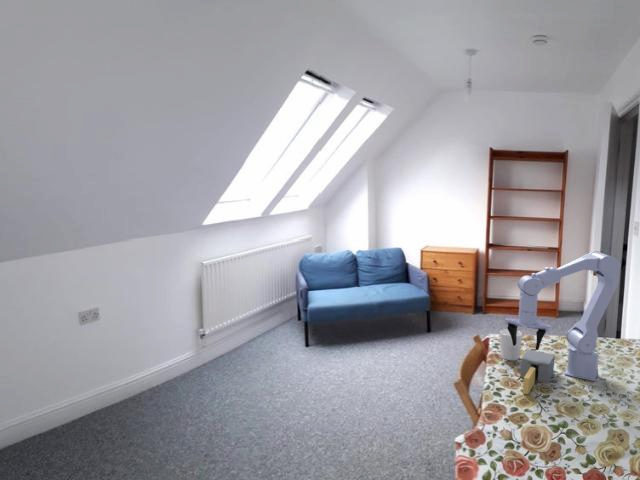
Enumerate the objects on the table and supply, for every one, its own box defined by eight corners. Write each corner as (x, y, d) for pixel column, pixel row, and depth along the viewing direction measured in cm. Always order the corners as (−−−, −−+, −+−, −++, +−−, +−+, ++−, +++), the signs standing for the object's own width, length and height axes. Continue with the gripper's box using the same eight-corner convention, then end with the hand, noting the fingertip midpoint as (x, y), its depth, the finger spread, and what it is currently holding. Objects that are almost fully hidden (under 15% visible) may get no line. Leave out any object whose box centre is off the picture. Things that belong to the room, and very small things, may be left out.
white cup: (522, 362, 181) (524, 336, 180) (500, 360, 183) (502, 335, 181) (518, 353, 189) (519, 329, 187) (497, 352, 190) (498, 328, 189)
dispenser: (553, 372, 172) (554, 354, 170) (547, 384, 163) (548, 365, 162) (526, 367, 177) (527, 349, 176) (519, 377, 168) (520, 359, 167)
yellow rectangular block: (534, 383, 163) (535, 367, 163) (527, 394, 155) (528, 378, 155) (529, 381, 164) (530, 366, 163) (523, 393, 156) (523, 377, 155)
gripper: (503, 309, 169) (501, 346, 171) (548, 316, 160) (545, 355, 163) (508, 304, 174) (506, 340, 177) (552, 311, 166) (549, 348, 168)
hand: (525, 346), depth 170 cm, fingers open, 7 cm apart
